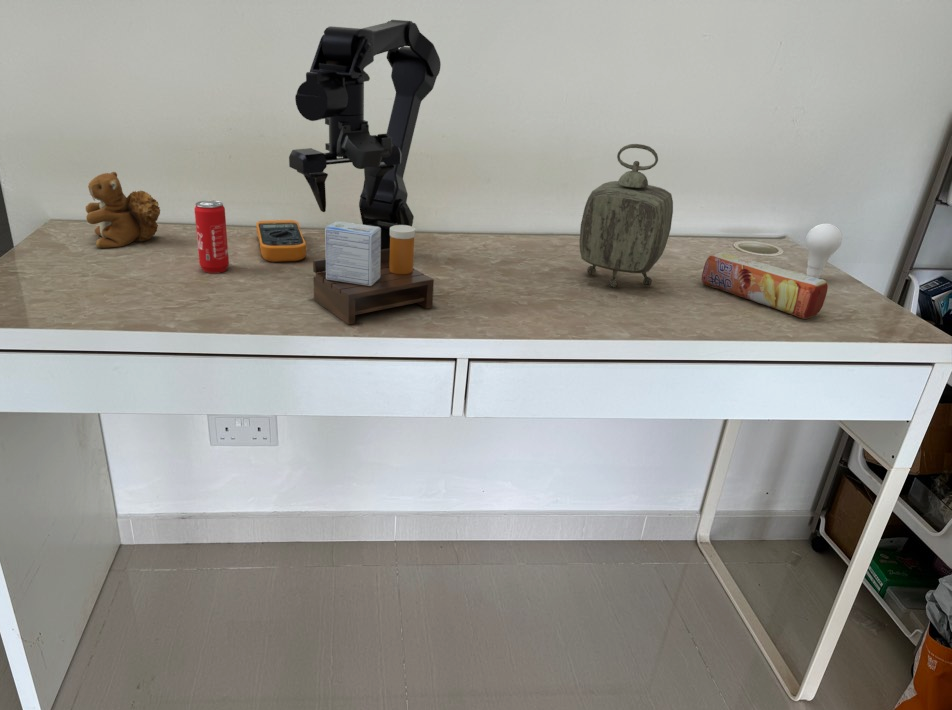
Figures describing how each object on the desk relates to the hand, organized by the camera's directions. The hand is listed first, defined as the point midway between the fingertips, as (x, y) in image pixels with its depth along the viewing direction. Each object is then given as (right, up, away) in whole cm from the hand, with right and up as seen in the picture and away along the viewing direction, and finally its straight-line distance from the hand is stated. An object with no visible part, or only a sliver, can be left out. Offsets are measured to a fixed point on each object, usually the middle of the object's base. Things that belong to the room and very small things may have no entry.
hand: (346, 208), depth 133 cm
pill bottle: (+9, -11, -4) cm, 15 cm away
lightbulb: (+89, -10, +17) cm, 92 cm away
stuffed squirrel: (-46, -1, +21) cm, 50 cm away
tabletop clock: (+49, -12, +10) cm, 51 cm away
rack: (+5, -17, -4) cm, 18 cm away
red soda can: (-25, -9, +8) cm, 28 cm away
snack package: (+73, -15, +6) cm, 75 cm away
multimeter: (-15, -3, +20) cm, 25 cm away
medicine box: (+2, -14, -8) cm, 16 cm away
